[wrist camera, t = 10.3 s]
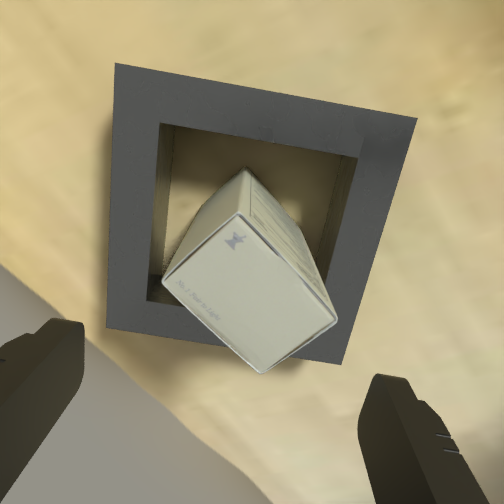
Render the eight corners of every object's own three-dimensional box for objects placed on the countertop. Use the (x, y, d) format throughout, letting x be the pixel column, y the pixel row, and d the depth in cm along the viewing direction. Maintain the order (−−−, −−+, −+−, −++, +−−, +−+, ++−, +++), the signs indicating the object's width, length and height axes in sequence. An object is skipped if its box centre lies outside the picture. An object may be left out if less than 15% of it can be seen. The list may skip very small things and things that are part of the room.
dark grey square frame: (392, 117, 23) (417, 118, 19) (330, 332, 29) (341, 365, 25) (139, 71, 23) (114, 62, 19) (127, 299, 28) (106, 327, 24)
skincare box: (200, 205, 25) (150, 279, 14) (248, 162, 24) (235, 204, 13) (259, 268, 27) (257, 381, 16) (307, 231, 26) (342, 322, 14)
